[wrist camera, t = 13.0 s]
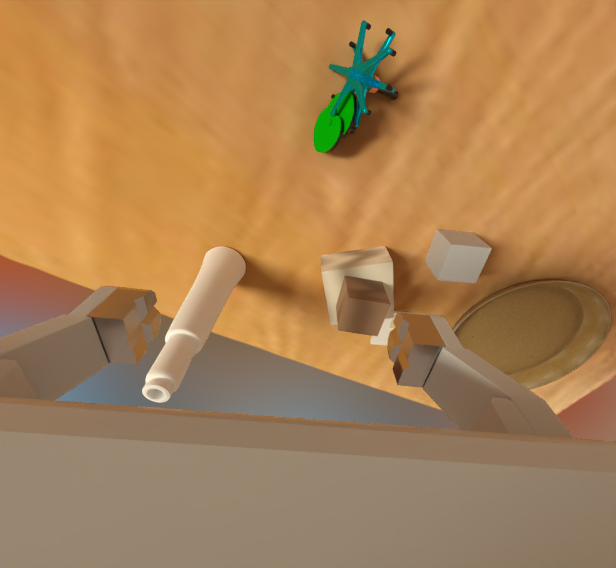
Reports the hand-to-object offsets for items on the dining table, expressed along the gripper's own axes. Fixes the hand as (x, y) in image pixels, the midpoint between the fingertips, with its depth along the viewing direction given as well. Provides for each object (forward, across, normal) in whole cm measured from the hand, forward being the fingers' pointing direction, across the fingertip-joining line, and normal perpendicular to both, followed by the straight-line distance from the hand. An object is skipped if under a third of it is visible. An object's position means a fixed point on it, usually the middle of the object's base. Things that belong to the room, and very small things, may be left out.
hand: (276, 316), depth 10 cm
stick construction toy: (+30, -5, -7) cm, 31 cm away
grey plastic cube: (+29, -21, +9) cm, 37 cm away
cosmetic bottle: (+29, +10, +15) cm, 34 cm away
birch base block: (+30, -9, +15) cm, 34 cm away
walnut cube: (+24, -9, +15) cm, 30 cm away
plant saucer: (+30, -37, +23) cm, 53 cm away
